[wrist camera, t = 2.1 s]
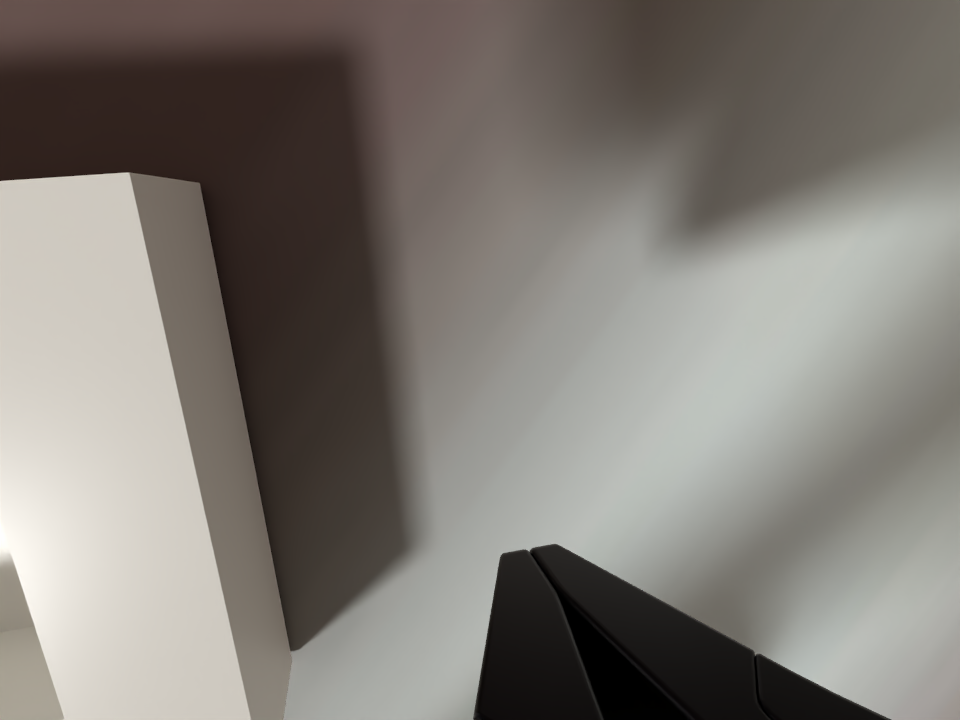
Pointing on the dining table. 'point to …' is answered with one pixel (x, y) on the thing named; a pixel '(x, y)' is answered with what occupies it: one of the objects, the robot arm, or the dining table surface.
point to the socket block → (126, 466)
